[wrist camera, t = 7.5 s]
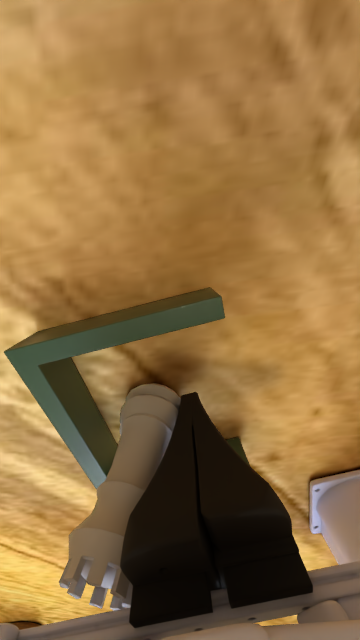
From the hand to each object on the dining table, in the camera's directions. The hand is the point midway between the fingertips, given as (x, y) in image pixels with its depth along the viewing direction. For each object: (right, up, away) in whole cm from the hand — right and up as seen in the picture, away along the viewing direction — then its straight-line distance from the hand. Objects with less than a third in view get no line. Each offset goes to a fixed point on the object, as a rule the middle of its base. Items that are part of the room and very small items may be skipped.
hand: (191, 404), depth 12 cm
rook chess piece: (-3, 0, +1) cm, 3 cm away
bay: (-2, 0, +1) cm, 2 cm away
